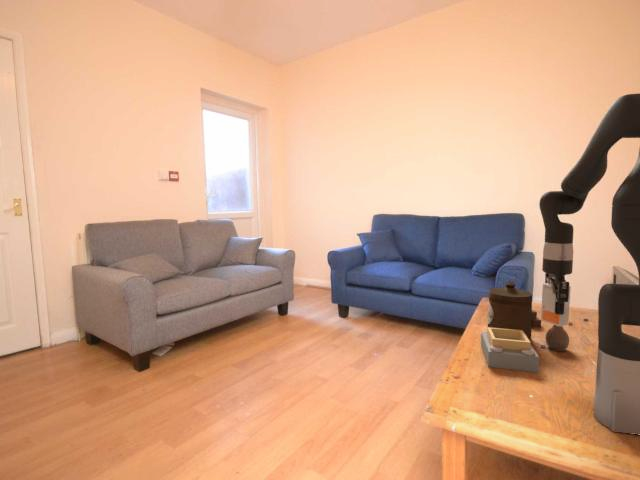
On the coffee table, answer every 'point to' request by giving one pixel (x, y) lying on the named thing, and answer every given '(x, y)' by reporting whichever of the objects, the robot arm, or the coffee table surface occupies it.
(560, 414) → the coffee table surface
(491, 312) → the wooden container
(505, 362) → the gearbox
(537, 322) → the stack of crates
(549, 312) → the skincare box
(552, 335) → the vase
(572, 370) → the coffee table surface
